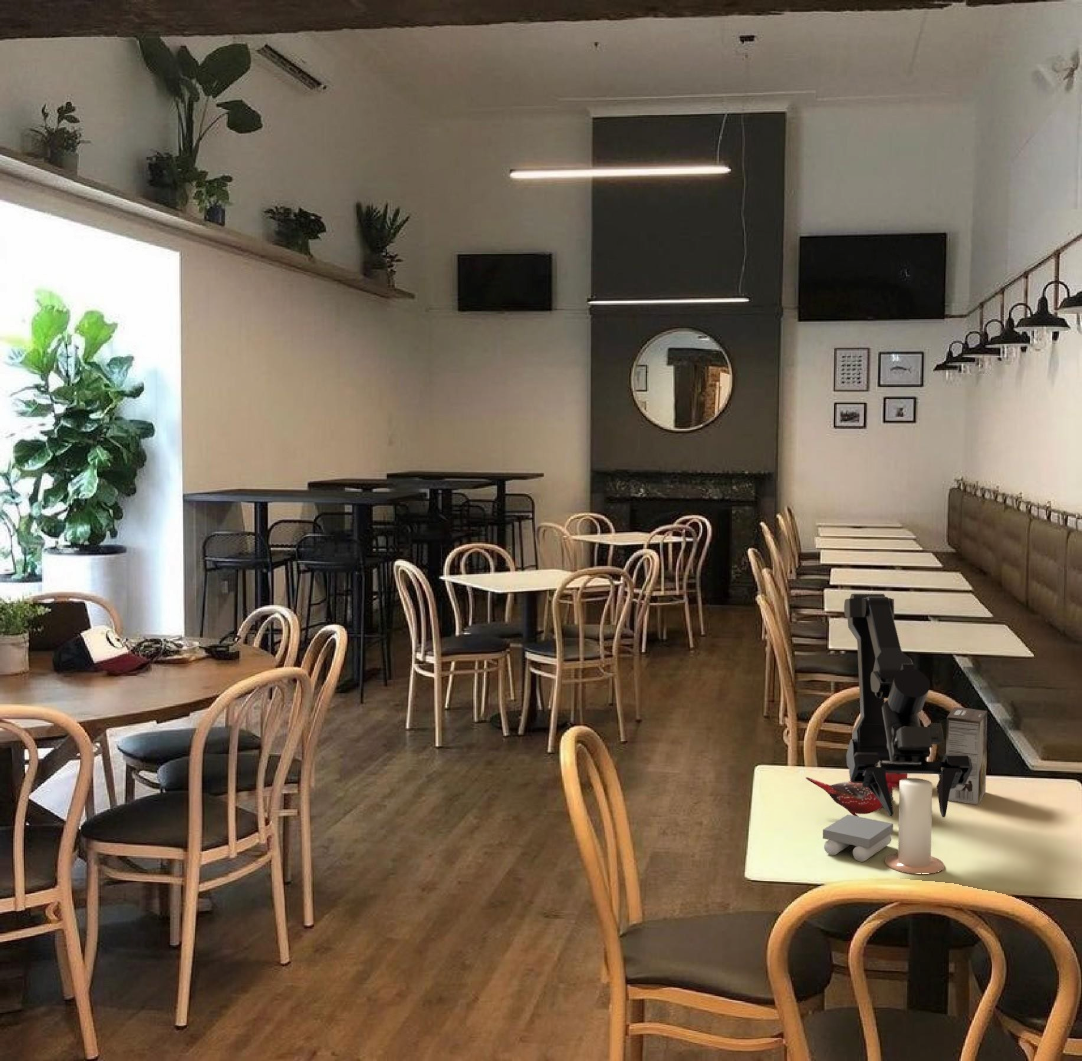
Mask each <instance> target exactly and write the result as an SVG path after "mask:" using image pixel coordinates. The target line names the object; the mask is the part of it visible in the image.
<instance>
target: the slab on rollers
mask: <svg viewBox="0 0 1082 1061" xmlns="http://www.w3.org/2000/svg"><path fill="white" fill-rule="evenodd" d="M858 816H859V815H857V816H854V815H852V814H847V815H844V816H842V818H840V819H838V820H836V821H834V822H833V823H832V824H829V825H828V826H826V827H825V828H823V829H822V839H824V840H826V841H825V842H824V845H823V849H824V851H825V853H826V854H828V855H829V856H835V855H837V854H838V853H840V852H841V851H843V850H845V849H847V848H848V847H849V846H850V845H853V846H855V847H853V850H852V855H853V858H854V859H855V860H856V861H857V862H861V863H862V862H863V863H864V862H865V861H867V860H869V859H870V858H872V856H874V855H875V854H876V853H878V852H880V851H882V850H883V849H884V848H885V847H888V845H890V844H891V843H892V836H891V834H892V833H894V823H893V822H888V821H882V820H877V819H872V818H867V817H862V816H859V817H858Z"/></svg>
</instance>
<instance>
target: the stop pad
mask: <svg viewBox="0 0 1082 1061" xmlns="http://www.w3.org/2000/svg"><path fill="white" fill-rule="evenodd" d="M884 859H885V864H886V866H887V867H888V868H890V869H892V870H893V871H897V872H900V871H903V872H902V873H904V872H907V873H906V874H909V873H921V874H922V873H929V874H928V875H931V874H930V873H935V874H937V873H936V872H938V871H941V870H942V871H943V870H944V869H945V864H944V862H943V861H942V860H940V859H939V858H937V857H935V856H932V855H931V864H930V865H929V866H927V867H910V866H906V865H903V864H901V863H899V862H898V852H895V853H892V854H889V855H887V856H886V857H885V858H884ZM943 868H944V869H943ZM942 871H941V872H942Z"/></svg>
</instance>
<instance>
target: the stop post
mask: <svg viewBox="0 0 1082 1061" xmlns="http://www.w3.org/2000/svg"><path fill="white" fill-rule="evenodd" d="M898 788H899V789H898V790H899V793H898V794H899V795H898V842H897V843H898V844H897V846H898V848H897V853H898V862H899V863H901V864H903V865H906V866H910V867H927V866H929V865H930V864H931V856H932V819H933V817H932V816H933V815H932V813H933V812H932V811H933V805H932V804H933V782H932V781H930V780H928V779H923V778H918V777H907V778H905V779H901V780H900V783H899V785H898Z"/></svg>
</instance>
